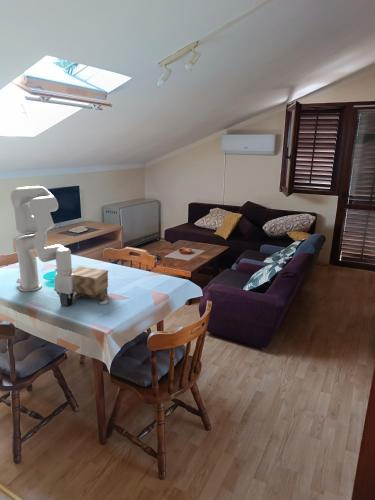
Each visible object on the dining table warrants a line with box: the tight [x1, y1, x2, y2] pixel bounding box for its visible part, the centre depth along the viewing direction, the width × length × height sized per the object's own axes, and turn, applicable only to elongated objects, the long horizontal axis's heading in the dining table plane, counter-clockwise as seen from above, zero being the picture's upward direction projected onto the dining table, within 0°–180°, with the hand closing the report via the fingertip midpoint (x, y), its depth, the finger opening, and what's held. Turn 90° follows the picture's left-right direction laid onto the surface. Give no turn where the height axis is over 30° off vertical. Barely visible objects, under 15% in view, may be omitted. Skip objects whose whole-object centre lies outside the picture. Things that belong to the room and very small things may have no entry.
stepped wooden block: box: [72, 265, 109, 300], centre depth 201 cm, size 19×13×15 cm
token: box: [98, 298, 109, 306], centre depth 196 cm, size 5×5×2 cm
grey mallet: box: [59, 293, 81, 308], centre depth 196 cm, size 4×13×7 cm, turn 163°
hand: (66, 303), depth 192 cm, fingers closed on grey mallet, 4 cm apart
